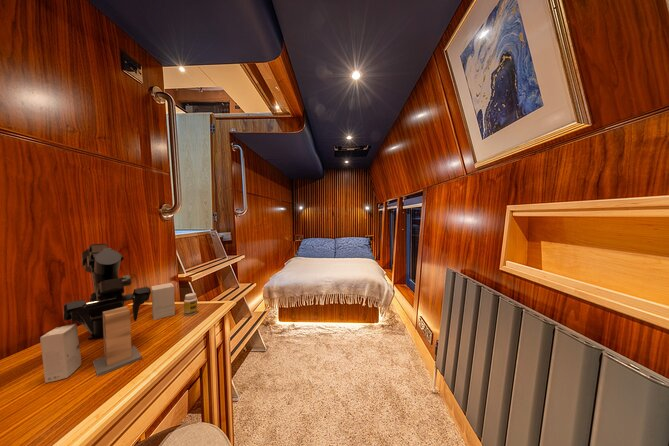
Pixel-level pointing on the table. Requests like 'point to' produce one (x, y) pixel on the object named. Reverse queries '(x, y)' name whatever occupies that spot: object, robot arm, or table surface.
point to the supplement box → (163, 300)
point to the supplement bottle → (190, 304)
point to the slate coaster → (103, 368)
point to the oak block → (117, 335)
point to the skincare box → (60, 352)
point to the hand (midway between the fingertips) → (115, 326)
